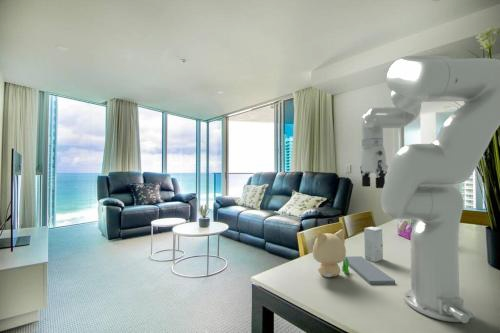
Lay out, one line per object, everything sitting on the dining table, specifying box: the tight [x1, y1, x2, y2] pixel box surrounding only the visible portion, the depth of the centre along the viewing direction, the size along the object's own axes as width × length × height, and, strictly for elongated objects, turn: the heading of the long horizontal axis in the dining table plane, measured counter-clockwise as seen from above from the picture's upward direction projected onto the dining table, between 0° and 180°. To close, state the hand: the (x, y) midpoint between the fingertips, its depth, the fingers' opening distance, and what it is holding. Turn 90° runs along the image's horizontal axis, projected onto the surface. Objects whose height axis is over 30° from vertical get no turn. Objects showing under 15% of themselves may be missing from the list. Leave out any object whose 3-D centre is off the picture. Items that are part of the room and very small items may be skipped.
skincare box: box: [363, 226, 384, 263], centre depth 90 cm, size 6×4×12 cm
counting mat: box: [342, 255, 396, 285], centre depth 80 cm, size 20×8×1 cm, turn 2°
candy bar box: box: [397, 219, 417, 241], centre depth 119 cm, size 11×5×16 cm, turn 179°
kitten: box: [312, 228, 350, 278], centre depth 76 cm, size 15×10×15 cm, turn 109°
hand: (372, 187), depth 91 cm, fingers open, 9 cm apart
